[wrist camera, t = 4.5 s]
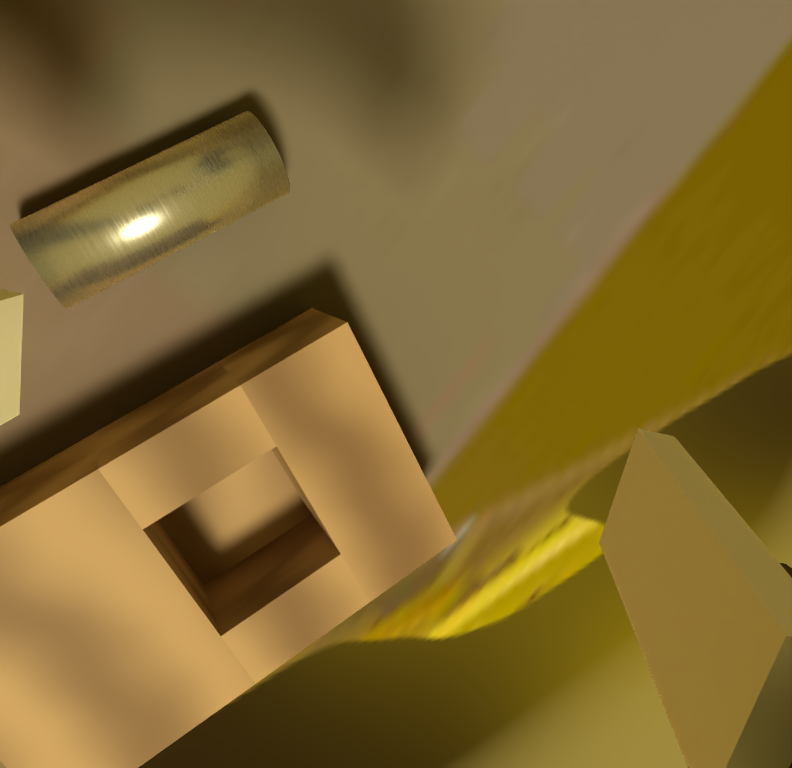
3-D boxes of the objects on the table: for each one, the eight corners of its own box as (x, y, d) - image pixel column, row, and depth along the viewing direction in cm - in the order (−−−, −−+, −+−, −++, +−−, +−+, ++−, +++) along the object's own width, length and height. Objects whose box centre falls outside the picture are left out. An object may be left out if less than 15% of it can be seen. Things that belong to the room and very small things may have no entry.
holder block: (311, 307, 33) (347, 322, 28) (412, 501, 37) (456, 539, 33) (-111, 550, 28) (-149, 614, 23) (65, 738, 32) (61, 821, 28)
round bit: (248, 148, 31) (238, 92, 27) (291, 209, 30) (287, 159, 27) (37, 253, 28) (-3, 206, 25) (78, 322, 28) (42, 283, 24)
